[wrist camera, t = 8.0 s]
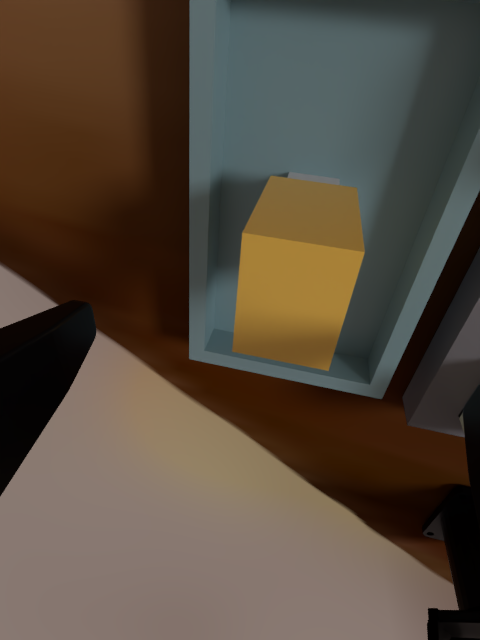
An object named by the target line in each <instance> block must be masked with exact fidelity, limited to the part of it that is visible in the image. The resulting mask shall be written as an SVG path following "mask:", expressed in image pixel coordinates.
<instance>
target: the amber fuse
mask: <svg viewBox="0 0 480 640" xmlns="http://www.w3.org/2000/svg"><path fill="white" fill-rule="evenodd" d="M364 253H365V249H364V241H363V233H362V225H361V217H360V208H359V200H358V192H357V188H356V187H349V186H342V185H340V179H337V178H330V177H323V176H315V175H308V174H301V173H294V172H289V175H288V177H287V178H285V177H278V176H270V178H269V180H268V182H267V184H266V186H265V188H264V190H263V192H262V194H261V196H260V198H259V200H258V202H257V204H256V206H255V208H254V210H253V212H252V214H251V216H250V218H249V220H248V222H247V224H246V226H245V228H244V230H243V232H242V242H241V254H240V266H239V277H238V289H237V301H236V313H235V324H234V336H233V348H232V352H236V353H241V354H246V355H251V356H256V357H261V358H266V359H271V360H276V361H281V362H286V363H291V364H296V365H301V366H306V367H311V368H316V369H321V370H326V371H329V367H330V364H331V361H332V358H333V354H334V351H335V348H336V345H337V341H338V338H339V335H340V332H341V328H342V325H343V322H344V319H345V315H346V312H347V309H348V306H349V302H350V299H351V296H352V292H353V289H354V286H355V283H356V279H357V276H358V273H359V270H360V266H361V263H362V260H363V257H364Z"/></svg>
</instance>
